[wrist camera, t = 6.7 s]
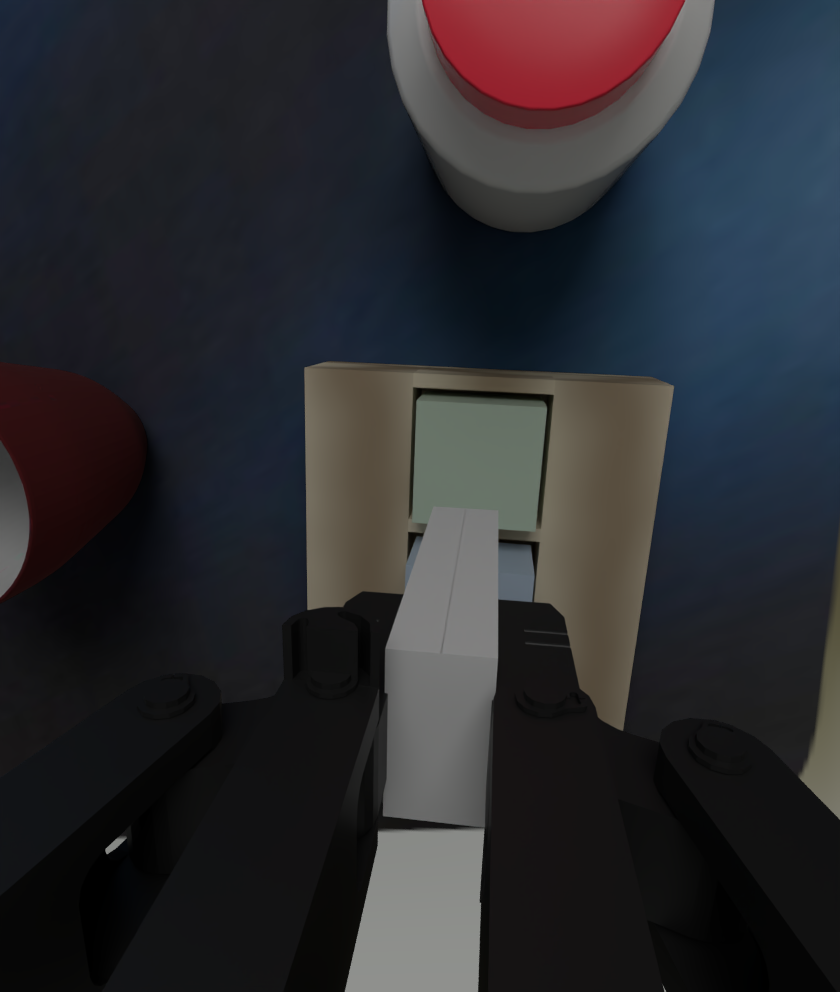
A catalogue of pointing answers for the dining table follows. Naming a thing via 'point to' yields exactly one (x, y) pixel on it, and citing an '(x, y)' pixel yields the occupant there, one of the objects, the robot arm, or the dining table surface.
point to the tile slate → (501, 570)
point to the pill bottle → (541, 95)
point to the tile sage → (479, 455)
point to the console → (554, 545)
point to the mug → (60, 468)
